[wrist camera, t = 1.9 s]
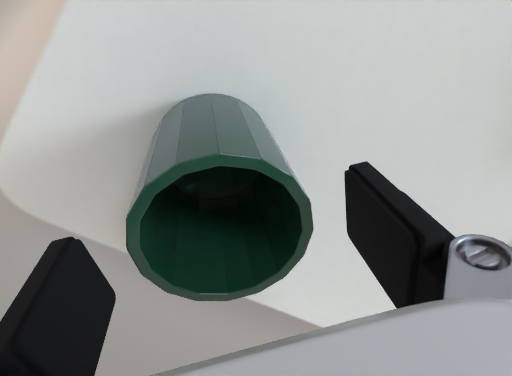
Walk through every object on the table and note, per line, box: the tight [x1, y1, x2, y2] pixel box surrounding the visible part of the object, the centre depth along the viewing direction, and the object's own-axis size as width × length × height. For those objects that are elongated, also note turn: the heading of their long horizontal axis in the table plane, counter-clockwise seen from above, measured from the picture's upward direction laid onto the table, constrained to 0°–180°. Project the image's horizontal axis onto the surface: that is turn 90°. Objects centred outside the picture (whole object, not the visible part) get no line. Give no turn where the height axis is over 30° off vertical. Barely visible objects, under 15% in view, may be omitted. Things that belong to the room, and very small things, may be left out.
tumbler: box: [126, 94, 313, 301], centre depth 13 cm, size 6×6×7 cm
